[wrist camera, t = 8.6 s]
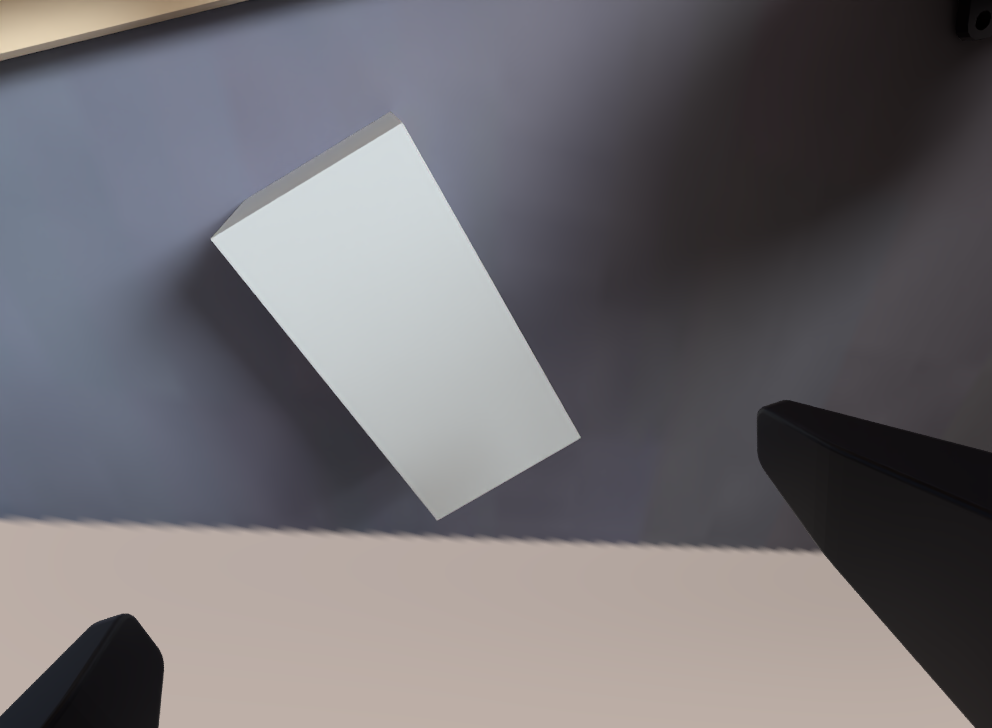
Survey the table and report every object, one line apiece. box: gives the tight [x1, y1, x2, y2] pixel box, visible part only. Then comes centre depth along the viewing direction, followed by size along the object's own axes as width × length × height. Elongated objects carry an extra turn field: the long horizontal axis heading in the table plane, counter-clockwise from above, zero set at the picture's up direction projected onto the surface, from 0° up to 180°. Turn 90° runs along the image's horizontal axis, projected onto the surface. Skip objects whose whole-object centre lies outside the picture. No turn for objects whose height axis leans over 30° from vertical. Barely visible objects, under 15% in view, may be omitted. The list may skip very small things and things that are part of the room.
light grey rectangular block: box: [211, 112, 581, 521], centre depth 16 cm, size 9×4×4 cm, turn 28°
